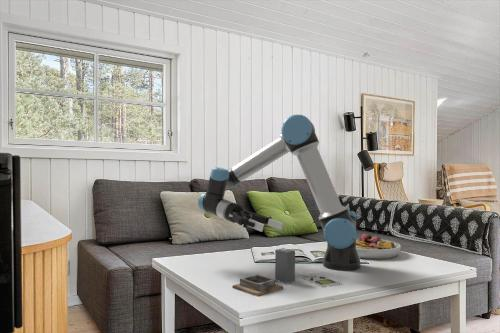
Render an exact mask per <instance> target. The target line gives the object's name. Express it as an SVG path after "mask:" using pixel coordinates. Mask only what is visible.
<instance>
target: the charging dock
mask: <svg viewBox="0 0 500 333" xmlns="http://www.w3.org/2000/svg"><path fill="white" fill-rule="evenodd" d="M276 281H277V280H275V278H274V279H273V278H271V277H267V276H264V275H261V274H253V275H249V276H244V277H242V278H241V277H240V278H239V283H235V284H233V285H232V288H233V289H235V290H239V291H242V292H243V293H247V294H249V295H250V294H251V295H252V296H256V297H260V296H262V295H265V294H269V293H272V292H275V291H279V290H281V289H283V285H280V284H276V283H277V282H276Z"/></svg>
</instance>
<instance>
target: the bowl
mask: <svg viewBox="0 0 500 333" xmlns="http://www.w3.org/2000/svg"><path fill="white" fill-rule="evenodd" d="M401 248H402V246H401V244H400V243H398V242H395V241H393V240H392V241H391V240H387V239H381V237H380V236H378V235H374V236H373V237H372V236H371V234H370V233H363V234H361V236H360V237H356V250H357V253H358V256H359V257H360V258H359V259H364V260H365V259H366V260H385V259H387V260H388V259H392V258H394V257H396V256H398V255H399V254H400V252H401V250H402V249H401Z"/></svg>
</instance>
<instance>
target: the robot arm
mask: <svg viewBox="0 0 500 333" xmlns="http://www.w3.org/2000/svg"><path fill="white" fill-rule="evenodd" d="M280 129H281V131H280V135H279V137H277V138H276V139H275V140H273V141H271V142H270V143H269V144H267V145H265V146H263V147H262V148H260V149H259V150H257V151H256V152H254V153H253V154H251V155H250V156H248V157H246V158H244V160H242V161H240V162H239V163H237V164H235V165H234V166H232V167H231V168H229V169H226V168H224V167H219V166H218V167H217V166H213V167H212V168H211V172H210V174H209V180H208V184H207V189H206V192H203V193H202V194H201V195H200V197H198V201H197V204H198V208H199V209H200V210H201V211H204V212H205V213H207V214H211V215H213V216H217V217H219V218H221V220H226V221H228V222H230V223H235V224H238V225H239V226H242V228H244V229H246V228H251V229H254V231H255V230H256V231H259V232H263V231H264V228H265V225H267V226H269V227H271V228H274V229H277V230H280V231H283V228H284V225H285V224H284V222H281V221H277V220H275V219H273V218H272V216H266V215H262V214H258V213H254V212H251V211H247V210H244V209H243V206H242V205H241V204H238V203H236V202H233V201H230V200H227V199H225V198H224V196H225V194H226V190H232V189H234V188H236V187H237V185H239V184H240V183H242V182H243V181H245V180H246V179H248V178H250V177H251V176H253V175H255V174H256V173H258V172H259V171H261V170H263V169H264V168H266V167H267V166H269V165H271V164H272V163H273V162H275V161H276V160H278V159H280V158H281V157H283V156H285V155H287V154H288V153H291V154H292V155H293V156H296V157H297V160H298V163H299V164H300V168H301V171H302V172H303V174H304V176H305V178H306V182H307V184H308V186H309V188H310V192H311V194H312V196H313V198H314V201H315V204H316V206H317V208H318V211H319V213H320V214H319V216H318V221H319V224H320V225H321V229H322V230H323V232H322V233H323V238H324V240H325V241H326V244H327V245H326V246H327V247H326V250H325V253H324V256H323V259H322V265H323V267H325V268H327V269H330V270H334V271H335V270H337V271H354V270H355V271H356V270H358V269H361V260H360V259H361V258H359V256H358V253H357V250H356V238H357V218H358V217H357V213H356V212H355V211H353V210H349V209H348V207H347V206H345V205H342V203H341V201H340V198H339V196H338V194H337V192H336V189H335V187H334V185H333V182H332V180H331V178H330V174H329V172H328V170H327V168H326V165H325V162H324V161H323V158H322V156H321V154H320V151H319V147H318V146H319V145H320V141H319V138H318V136H317V134H316V128H315V126H314V124H313V123H312V121H311V120H310V119H309V118H308V117H307V116H305V115H303V114H292V115H290V116H288V117H287V118H286V119H284V120H283V123H282V125H281V128H280Z"/></svg>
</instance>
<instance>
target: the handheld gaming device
mask: <svg viewBox="0 0 500 333" xmlns="http://www.w3.org/2000/svg"><path fill="white" fill-rule="evenodd" d="M299 278H300V279H302V280H304V281H307V282H309V283H311V284H313V283H314V285H316V286H318V287H320V286H321V288H328V287H327V286H329V287H333V286H334V285H335V286H340V284H341V285H342V283H341V282H339V281H337V280H335V279H332V278H329V277H326V276H324V275H322V274H319V273H313V274H312V273H311V274H305V275H300V276H299Z"/></svg>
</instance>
